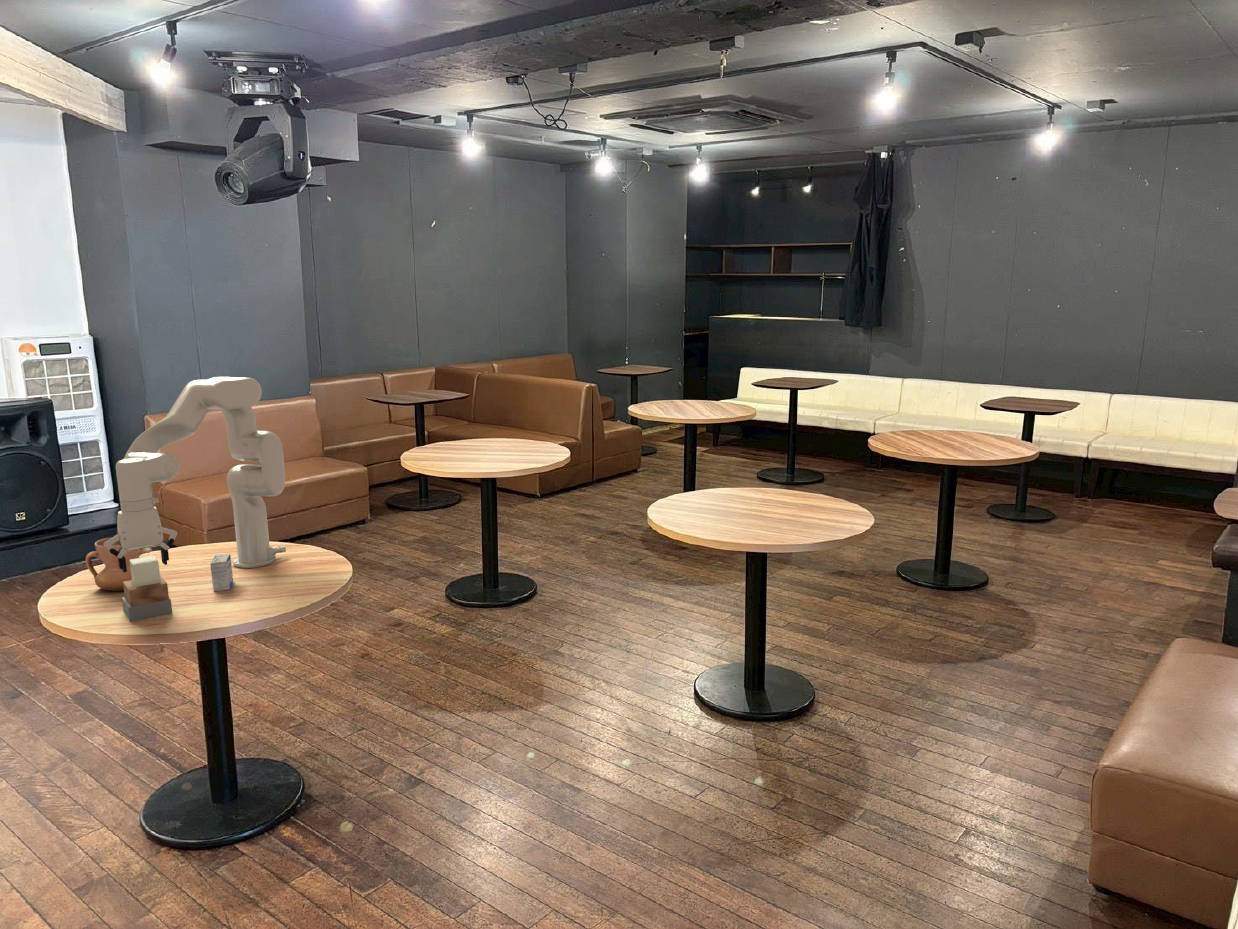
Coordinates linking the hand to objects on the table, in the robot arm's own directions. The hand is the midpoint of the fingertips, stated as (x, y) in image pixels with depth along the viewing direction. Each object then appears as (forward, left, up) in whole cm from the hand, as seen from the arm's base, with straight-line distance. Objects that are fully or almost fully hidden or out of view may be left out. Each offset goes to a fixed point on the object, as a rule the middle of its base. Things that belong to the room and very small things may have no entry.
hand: (144, 567), depth 231 cm
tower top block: (+1, +1, -9) cm, 9 cm away
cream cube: (0, 0, -4) cm, 4 cm away
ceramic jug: (+2, -28, -13) cm, 31 cm away
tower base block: (+1, 0, -13) cm, 13 cm away
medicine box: (-21, -9, -13) cm, 26 cm away
